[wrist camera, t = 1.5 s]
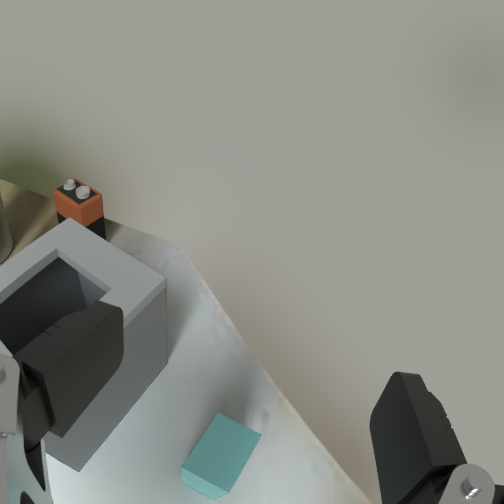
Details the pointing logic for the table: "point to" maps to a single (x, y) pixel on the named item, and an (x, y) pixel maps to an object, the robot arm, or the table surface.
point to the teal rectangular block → (219, 457)
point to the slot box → (78, 299)
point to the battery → (80, 206)
